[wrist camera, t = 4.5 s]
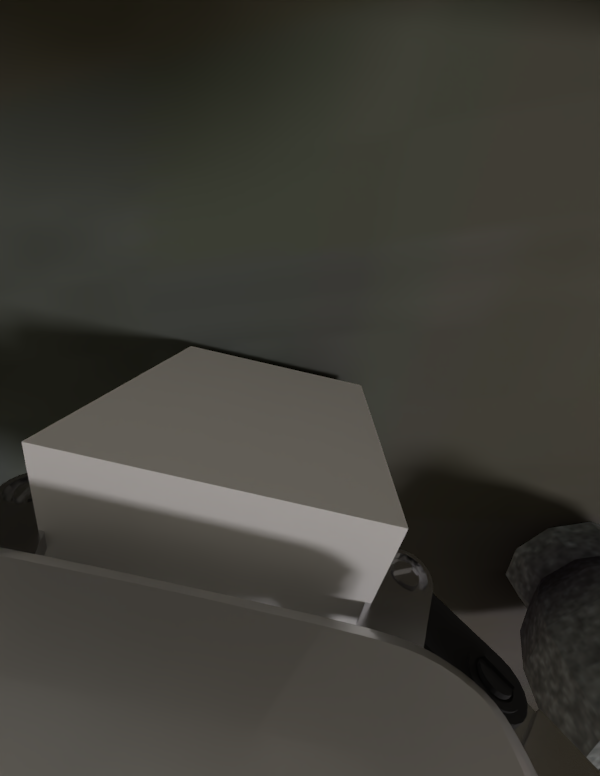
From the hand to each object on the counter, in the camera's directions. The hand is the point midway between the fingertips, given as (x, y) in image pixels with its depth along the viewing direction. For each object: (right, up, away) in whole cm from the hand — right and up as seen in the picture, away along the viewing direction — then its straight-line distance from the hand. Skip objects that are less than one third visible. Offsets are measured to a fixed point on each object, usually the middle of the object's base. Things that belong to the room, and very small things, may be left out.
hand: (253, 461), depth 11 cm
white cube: (0, +1, +2) cm, 2 cm away
